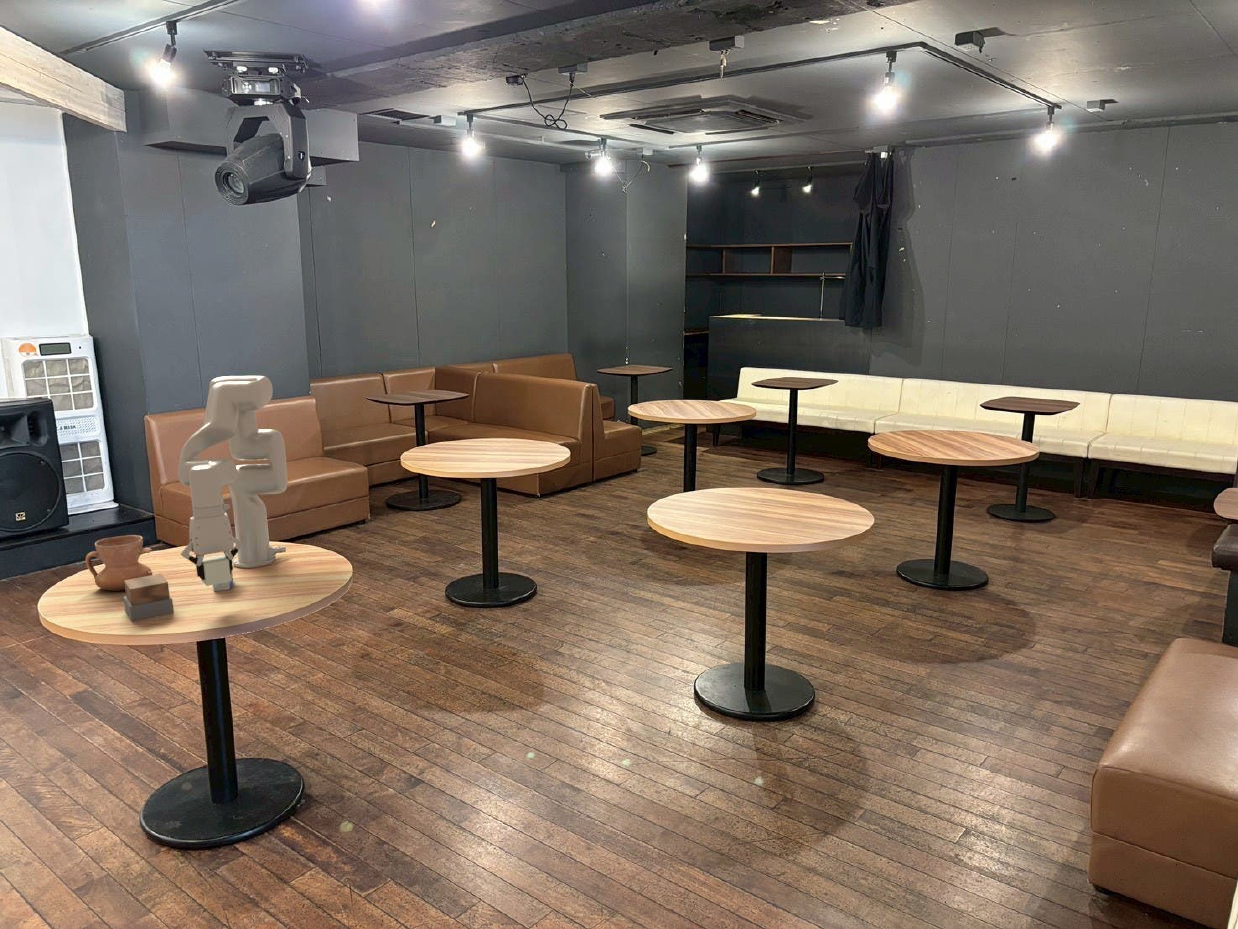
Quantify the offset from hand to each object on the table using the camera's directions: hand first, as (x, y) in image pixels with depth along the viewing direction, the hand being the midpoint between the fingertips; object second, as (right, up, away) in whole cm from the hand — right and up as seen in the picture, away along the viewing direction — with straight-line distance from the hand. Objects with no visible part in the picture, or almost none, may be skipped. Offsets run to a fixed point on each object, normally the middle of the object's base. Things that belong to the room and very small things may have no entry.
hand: (215, 575), depth 233 cm
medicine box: (-7, -6, +20) cm, 22 cm away
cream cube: (0, -2, 0) cm, 1 cm away
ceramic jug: (-37, -6, +21) cm, 43 cm away
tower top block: (-18, -6, -1) cm, 19 cm away
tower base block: (-18, -10, 0) cm, 21 cm away
